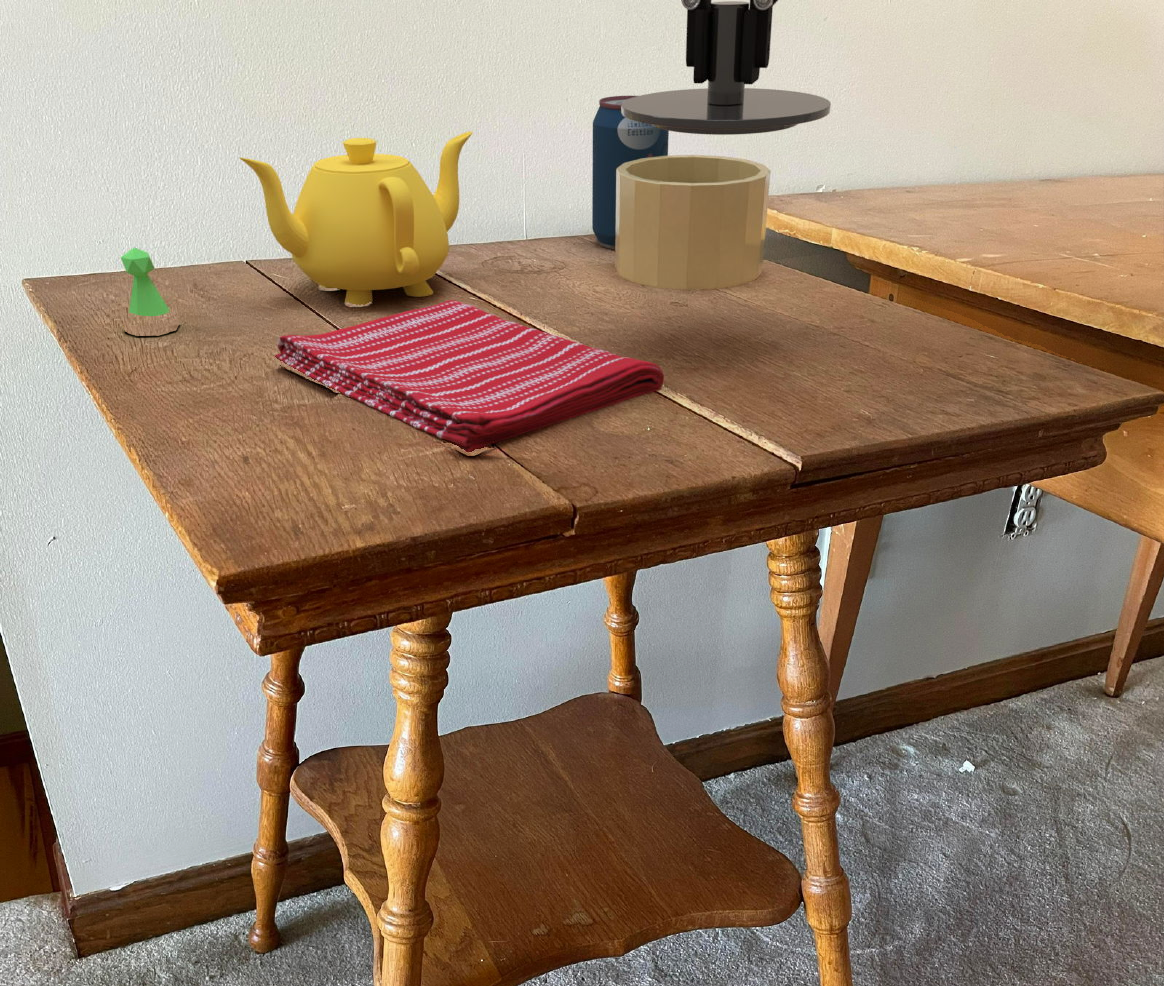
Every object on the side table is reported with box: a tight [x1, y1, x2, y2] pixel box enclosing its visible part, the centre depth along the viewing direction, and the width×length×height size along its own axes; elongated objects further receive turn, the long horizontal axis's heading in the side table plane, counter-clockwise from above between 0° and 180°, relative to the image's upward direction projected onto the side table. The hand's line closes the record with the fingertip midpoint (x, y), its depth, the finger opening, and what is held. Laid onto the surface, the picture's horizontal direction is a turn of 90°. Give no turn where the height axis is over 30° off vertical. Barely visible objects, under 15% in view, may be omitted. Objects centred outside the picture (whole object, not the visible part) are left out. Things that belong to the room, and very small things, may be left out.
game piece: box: [120, 247, 170, 316], centre depth 91 cm, size 4×4×6 cm
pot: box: [614, 154, 771, 291], centre depth 102 cm, size 13×13×8 cm
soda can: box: [591, 95, 670, 250], centre depth 110 cm, size 7×7×12 cm
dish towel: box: [274, 299, 665, 452], centre depth 82 cm, size 17×24×3 cm
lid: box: [621, 0, 832, 136], centre depth 77 cm, size 14×14×7 cm
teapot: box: [238, 131, 473, 305], centre depth 97 cm, size 20×15×12 cm
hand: (726, 78), depth 77 cm, fingers closed on lid, 2 cm apart
